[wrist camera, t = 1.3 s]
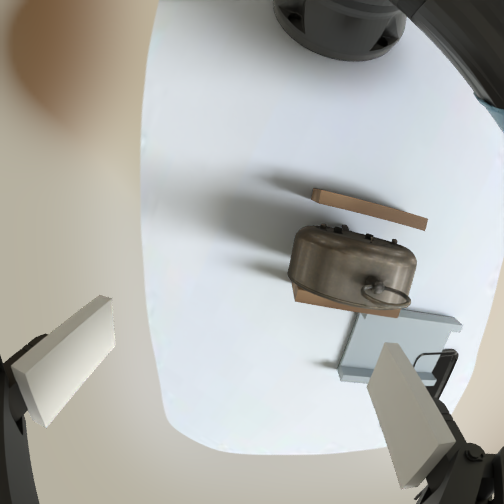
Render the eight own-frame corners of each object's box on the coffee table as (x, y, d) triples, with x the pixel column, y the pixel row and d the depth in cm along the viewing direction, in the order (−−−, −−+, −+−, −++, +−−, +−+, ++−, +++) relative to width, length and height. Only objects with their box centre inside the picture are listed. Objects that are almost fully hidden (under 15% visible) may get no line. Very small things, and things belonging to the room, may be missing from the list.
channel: (313, 188, 30) (321, 189, 25) (406, 212, 30) (427, 218, 25) (291, 283, 32) (294, 301, 27) (382, 300, 32) (397, 318, 27)
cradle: (361, 302, 32) (367, 311, 30) (453, 317, 32) (463, 325, 30) (337, 369, 35) (340, 381, 32) (426, 376, 34) (433, 385, 32)
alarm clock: (283, 259, 32) (294, 336, 16) (293, 209, 30) (317, 241, 15) (377, 276, 32) (448, 351, 16) (389, 230, 30) (477, 275, 14)
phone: (460, 351, 32) (423, 426, 36) (457, 347, 34) (421, 422, 37) (417, 353, 33) (382, 431, 36) (414, 349, 34) (381, 426, 38)
